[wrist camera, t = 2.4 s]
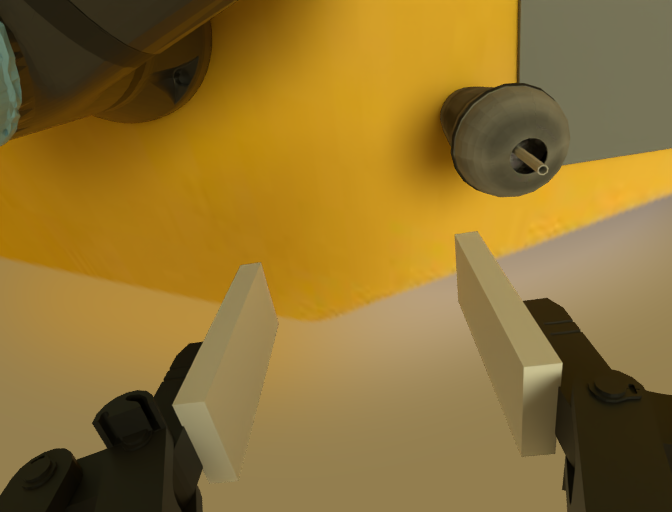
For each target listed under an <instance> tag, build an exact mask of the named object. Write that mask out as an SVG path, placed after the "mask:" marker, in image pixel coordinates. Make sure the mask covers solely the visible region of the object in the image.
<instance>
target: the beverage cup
mask: <svg viewBox="0 0 672 512" xmlns="http://www.w3.org/2000/svg"><path fill="white" fill-rule="evenodd" d="M440 120H441V124H442V127H443V131H444V133H445V135H446V137H447V140H448V142H449V144H450V146H451V155H452V159H453V163H454V167H455V169H456V171H457V172H458V174H459V175H460V177H461V178H462V179H463V181H464V182H466V183H467V184H469V185H470V186H471V187H473V188H474V189H476V190H478V191H481V192H483V193H487V194H490V195H494V196H498V197H516V196H521V195H524V194H527V193H530V192H533V191H535V190H537V189H538V188H540V187H541V186H543V185H545V184H546V183H548V182H549V181H550V180H551V179H552V177H553V176H554V175H555V174H556V173H557V172H558V171H559V170H560V168H561V166H562V164H563V162H564V160H565V158H566V156H567V154H568V148H569V143H570V133H569V125H568V120H567V118H566V116H565V114H564V113H563V111H562V109H561V107H560V106H559V104H558V103H557V102H556V101H555V100H554V98H552V97H551V96H550V95H549V94H547V93H546V92H545V91H544V90H542V89H541V88H539V87H536V86H532V85H529V84H526V83H509V84H503V85H500V86H497V87H495V88H493V87H467V88H462V89H459V90H457V91H455V92H454V93H452V94H451V95H450V96H449V97H448V98H447V99H446V101H445V102H444V104H443V106H442V109H441V116H440Z"/></svg>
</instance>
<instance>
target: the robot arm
mask: <svg viewBox="0 0 672 512" xmlns="http://www.w3.org/2000/svg"><path fill="white" fill-rule="evenodd" d="M236 1H238V0H0V146H2V145H4V144H5V143H7V142H8V141H9V140H12V139H15V138H18V137H22V136H25V135H28V134H32V133H35V132H38V131H41V130H45V129H48V128H51V127H55V126H58V125H61V124H65V123H68V122H71V121H74V120H78V119H81V118H84V117H88V116H91V115H92V116H96V117H99V118H103V119H106V120H110V121H115V122H122V123H139V122H146V121H151V120H154V119H157V118H160V117H162V116H165V115H167V114H170V113H172V112H174V111H176V110H177V109H179V108H180V107H182V106H183V105H184V104H185V103H187V102H188V101H189V100H190V99H191V98H192V96H193V95H194V94H195V93H196V91H197V90H198V88H199V87H200V85H201V83H202V81H203V79H204V77H205V75H206V72H207V69H208V65H209V61H210V55H211V47H212V34H211V23H210V19H211V18H213V17H214V16H216V15H217V14H219V13H220V12H222V11H223V10H225V9H226V8H228V7H229V6H231V5H232V4H234V3H235V2H236ZM455 250H456V268H457V286H458V301H459V304H460V306H461V309H462V311H463V314H464V316H465V318H466V321H467V324H468V326H469V328H470V331H471V334H472V336H473V339H474V341H475V344H476V346H477V348H478V351H479V353H480V356H481V358H482V361H483V363H484V366H485V368H486V371H487V373H488V376H489V378H490V380H491V383H492V386H493V388H494V391H495V393H496V395H497V398H498V400H499V403H500V405H501V408H502V410H503V413H504V415H505V418H506V420H507V423H508V425H509V428H510V430H511V433H512V435H513V438H514V440H515V443H516V445H517V447H518V450H519V452H520V455H521V457H524V456H535V455H548V454H555V448H556V437H557V439H558V441H559V443H560V445H561V447H562V449H563V451H564V453H565V455H566V457H565V468H564V477H563V487H562V490H565V491H566V497H567V512H672V395H666V394H660V393H654V392H649V391H646V390H645V389H644V387H643V386H642V385H641V384H640V383H639V382H637V381H636V380H635V379H634V378H632V377H630V376H628V375H626V374H624V373H621V372H620V371H616V370H611V368H610V367H609V366H608V365H607V363H606V362H605V361H604V359H603V358H602V357H601V356H600V354H599V353H598V352H597V350H596V349H595V348H594V347H593V345H592V344H591V343H590V341H589V340H588V339H587V338H586V336H585V335H584V334H583V332H580V329H579V327H578V326H577V325H576V324H575V322H573V320H572V319H571V317H570V316H569V315H568V313H567V312H566V311H565V309H564V308H563V307H561V306H560V305H558V304H556V303H554V302H553V301H551V300H550V299H548V298H543V299H535V300H527V301H522V300H521V298H520V296H519V295H518V293H517V292H516V290H515V289H514V287H513V286H512V284H511V283H510V281H509V279H508V278H507V277H506V275H505V273H504V272H503V270H502V269H501V267H500V266H499V264H498V263H497V261H496V259H495V258H494V256H493V255H492V253H491V252H490V250H489V249H488V247H487V245H486V244H485V242H484V241H483V239H482V238H481V236H480V235H479V233H478V232H477V231H476V232H469V233H462V234H455ZM278 325H279V324H278V320H277V316H276V313H275V309H274V306H273V302H272V299H271V295H270V292H269V289H268V285H267V282H266V278H265V275H264V271H263V268H262V264H261V262H260V263H253V264H246V265H240V268H239V270H238V272H237V274H236V276H235V278H234V280H233V282H232V284H231V286H230V288H229V290H228V292H227V294H226V296H225V298H224V300H223V302H222V304H221V306H220V308H219V310H218V313H217V314H216V317H215V319H214V321H213V323H212V325H211V327H210V329H209V331H208V333H207V335H206V337H205V339H204V341H203V342H199V343H190V344H188V345H187V346H186V347H185V348H184V349H183V350H182V351H181V352H180V353H179V354H178V355H177V356H176V358H175V360H174V361H173V363H172V365H171V367H170V371H168V372H167V374H166V376H165V378H164V382H162V383H161V385H160V387H159V388H158V390H157V392H156V394H155V396H154V397H153V396H152V394H150V393H149V392H147V391H139V390H137V391H132V392H128V393H125V394H123V395H121V396H119V397H117V398H115V399H113V400H112V401H110V402H109V403H108V404H106V405H105V406H104V407H103V408H102V409H101V410H100V411H99V412H98V413H97V415H96V417H95V419H94V421H93V422H92V424H93V425H94V427H95V429H96V430H97V432H98V434H99V435H100V437H101V438H102V440H103V441H104V443H105V445H106V447H107V449H105V450H102V451H100V452H97V453H94V454H91V455H89V456H86V457H83V458H80V459H77V460H76V459H75V457H74V456H73V454H72V453H71V452H70V451H68V450H67V449H64V448H62V449H53V450H50V451H47V452H44V453H42V454H40V455H39V456H37V457H35V458H33V459H31V460H30V461H29V462H28V463H27V464H25V465H24V466H23V467H22V468H20V469H19V471H18V472H17V473H16V474H15V475H14V477H13V478H12V479H11V480H10V482H9V483H8V485H7V486H6V488H5V489H4V491H3V492H2V494H1V495H0V512H203V511H202V496H201V493H200V490H199V488H198V486H197V483H198V480H199V478H200V475H201V472H202V469H203V471H204V473H205V475H206V477H207V479H208V481H209V483H221V482H232V481H238V480H239V477H240V473H241V469H242V465H243V461H244V457H245V453H246V449H247V446H248V442H249V438H250V434H251V430H252V426H253V422H254V418H255V414H256V410H257V406H258V402H259V399H260V395H261V391H262V387H263V383H264V379H265V375H266V371H267V368H268V364H269V359H270V356H271V352H272V348H273V344H274V340H275V336H276V332H277V328H278Z"/></svg>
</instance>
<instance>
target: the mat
mask: <svg viewBox="0 0 672 512" xmlns="http://www.w3.org/2000/svg"><path fill="white" fill-rule="evenodd" d="M517 83H526V84H529V85H532V86H536V87H539V88H541V89H542V90H544V91H545V92H546V93H547V94H549V95H550V96H551V97H552V98H554V100H555V101H556V102H557V103H558V104H559V106H560V107H561V109H562V111H563V113H564V114H565V116H566V118H567V120H568V125H569V133H570V143H569V148H568V154H567V156H566V158H565V160H564V162H563V164H562V165H567V164H574V163H580V162H586V161H593V160H599V159H606V158H612V157H618V156H625V155H631V154H638V153H644V152H651V151H657V150H663V149H670V148H672V0H519V15H518V80H517Z"/></svg>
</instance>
